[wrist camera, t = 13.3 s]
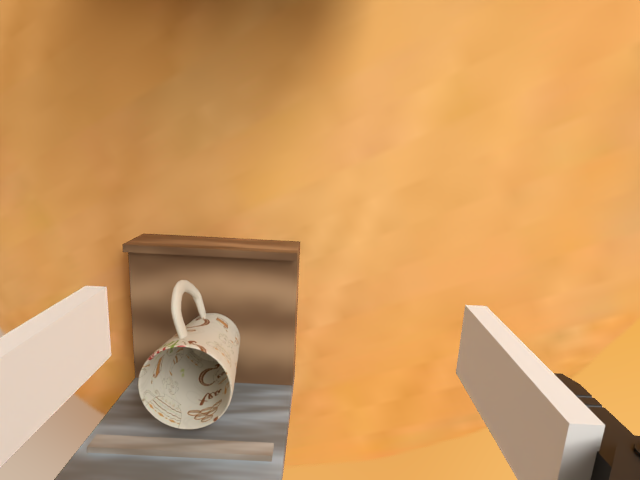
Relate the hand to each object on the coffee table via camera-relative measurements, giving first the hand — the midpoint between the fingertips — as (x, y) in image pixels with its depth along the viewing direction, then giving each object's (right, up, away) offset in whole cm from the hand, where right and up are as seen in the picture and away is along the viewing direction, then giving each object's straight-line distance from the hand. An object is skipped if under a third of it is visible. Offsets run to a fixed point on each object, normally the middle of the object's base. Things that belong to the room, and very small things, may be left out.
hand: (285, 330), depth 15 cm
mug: (-11, -6, +31) cm, 33 cm away
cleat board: (-10, -5, +35) cm, 37 cm away
